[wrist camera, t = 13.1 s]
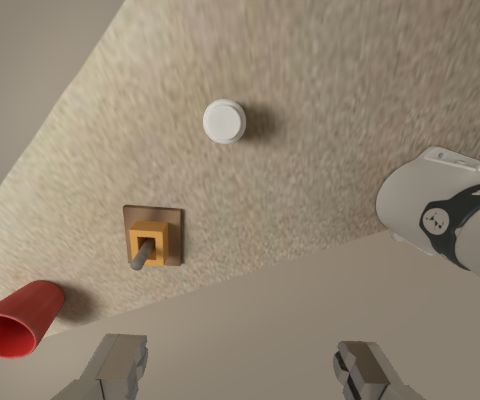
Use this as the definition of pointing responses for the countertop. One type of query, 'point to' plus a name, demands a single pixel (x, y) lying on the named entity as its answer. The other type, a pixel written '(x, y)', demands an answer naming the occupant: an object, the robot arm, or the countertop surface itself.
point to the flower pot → (27, 317)
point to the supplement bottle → (224, 121)
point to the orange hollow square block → (155, 231)
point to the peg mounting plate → (155, 215)
